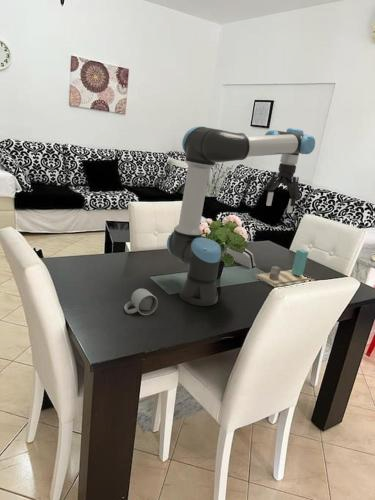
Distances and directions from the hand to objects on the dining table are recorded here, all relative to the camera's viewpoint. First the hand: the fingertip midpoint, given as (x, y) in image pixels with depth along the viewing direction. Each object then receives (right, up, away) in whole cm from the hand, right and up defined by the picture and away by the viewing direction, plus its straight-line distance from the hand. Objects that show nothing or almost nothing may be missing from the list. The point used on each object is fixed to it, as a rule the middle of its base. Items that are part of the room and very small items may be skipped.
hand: (278, 209), depth 184 cm
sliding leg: (+11, -32, +9) cm, 35 cm away
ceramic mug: (-60, -41, -45) cm, 86 cm away
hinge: (-16, -26, +19) cm, 37 cm away
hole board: (+4, -34, +5) cm, 34 cm away
